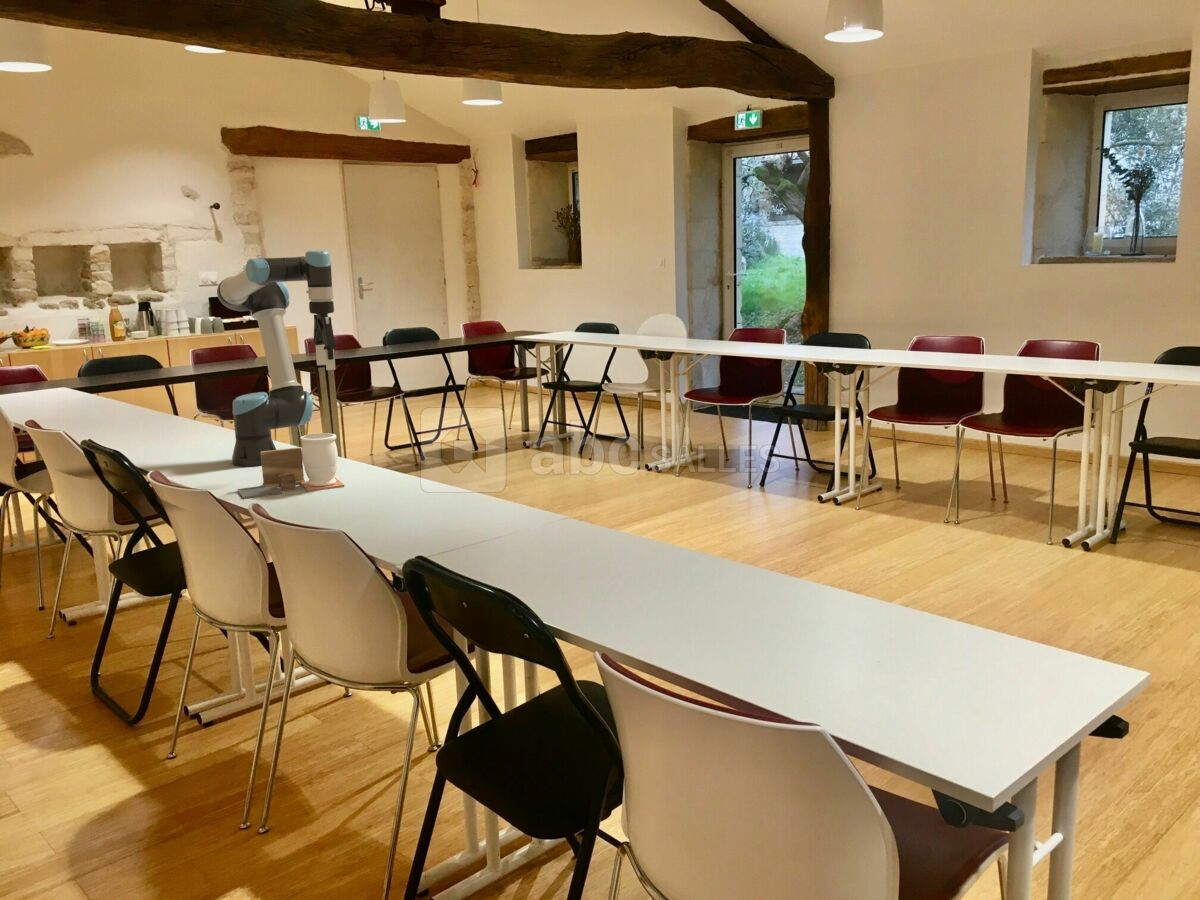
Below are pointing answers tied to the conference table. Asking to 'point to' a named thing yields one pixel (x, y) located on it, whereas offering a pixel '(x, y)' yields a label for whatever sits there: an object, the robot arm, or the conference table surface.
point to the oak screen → (281, 465)
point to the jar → (320, 458)
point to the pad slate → (258, 491)
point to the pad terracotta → (314, 488)
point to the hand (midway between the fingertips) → (326, 367)
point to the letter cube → (287, 481)
